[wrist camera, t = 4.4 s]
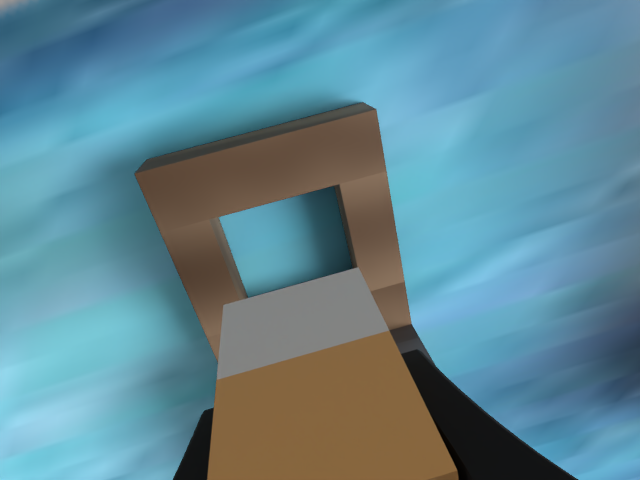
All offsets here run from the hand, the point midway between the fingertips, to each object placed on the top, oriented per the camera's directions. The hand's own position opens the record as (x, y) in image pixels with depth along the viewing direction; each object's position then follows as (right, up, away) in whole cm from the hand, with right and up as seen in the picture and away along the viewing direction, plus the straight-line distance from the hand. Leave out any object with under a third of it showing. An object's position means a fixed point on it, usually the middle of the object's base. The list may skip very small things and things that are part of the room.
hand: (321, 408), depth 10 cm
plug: (0, +1, +3) cm, 3 cm away
